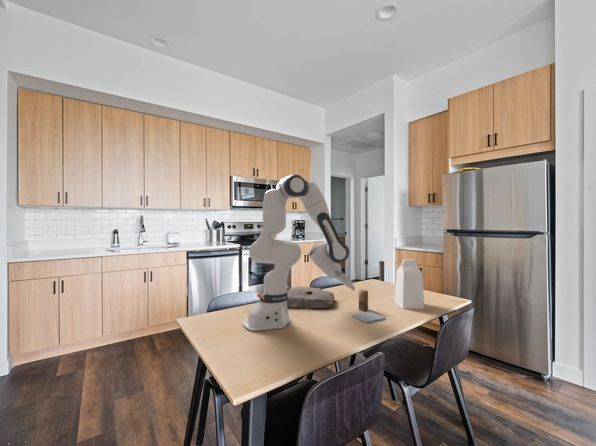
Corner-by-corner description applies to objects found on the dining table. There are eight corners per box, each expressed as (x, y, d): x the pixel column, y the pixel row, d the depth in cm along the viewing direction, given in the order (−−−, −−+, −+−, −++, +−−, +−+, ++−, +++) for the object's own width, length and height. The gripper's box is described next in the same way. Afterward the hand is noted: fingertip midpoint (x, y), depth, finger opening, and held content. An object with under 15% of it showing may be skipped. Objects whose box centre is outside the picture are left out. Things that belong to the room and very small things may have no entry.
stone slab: (277, 308, 154) (277, 297, 154) (289, 294, 183) (289, 284, 183) (333, 311, 148) (333, 299, 148) (335, 296, 177) (335, 286, 177)
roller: (362, 311, 146) (362, 292, 146) (356, 309, 151) (356, 290, 150) (370, 310, 148) (369, 291, 148) (363, 307, 153) (363, 289, 153)
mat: (366, 323, 129) (366, 321, 129) (351, 316, 139) (351, 314, 139) (385, 319, 135) (385, 317, 135) (370, 312, 145) (370, 311, 144)
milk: (414, 302, 162) (414, 258, 162) (424, 308, 151) (424, 261, 151) (394, 302, 162) (394, 258, 162) (402, 308, 151) (402, 261, 150)
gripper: (344, 269, 136) (362, 287, 138) (331, 262, 156) (347, 278, 158) (335, 278, 135) (354, 297, 137) (323, 270, 155) (340, 286, 157)
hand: (350, 286), depth 148 cm, fingers open, 8 cm apart
